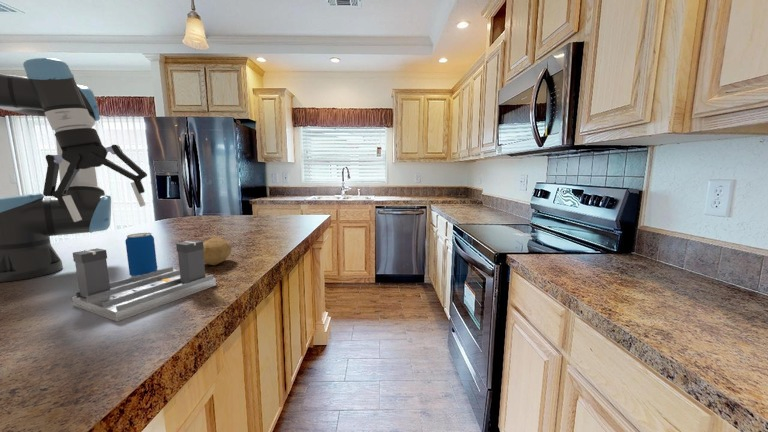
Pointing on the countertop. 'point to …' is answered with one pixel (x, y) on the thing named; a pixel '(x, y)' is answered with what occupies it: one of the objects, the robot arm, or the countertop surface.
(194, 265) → the fader far
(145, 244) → the beverage can
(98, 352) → the countertop surface
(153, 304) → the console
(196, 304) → the countertop surface
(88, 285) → the fader near
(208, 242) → the potato
